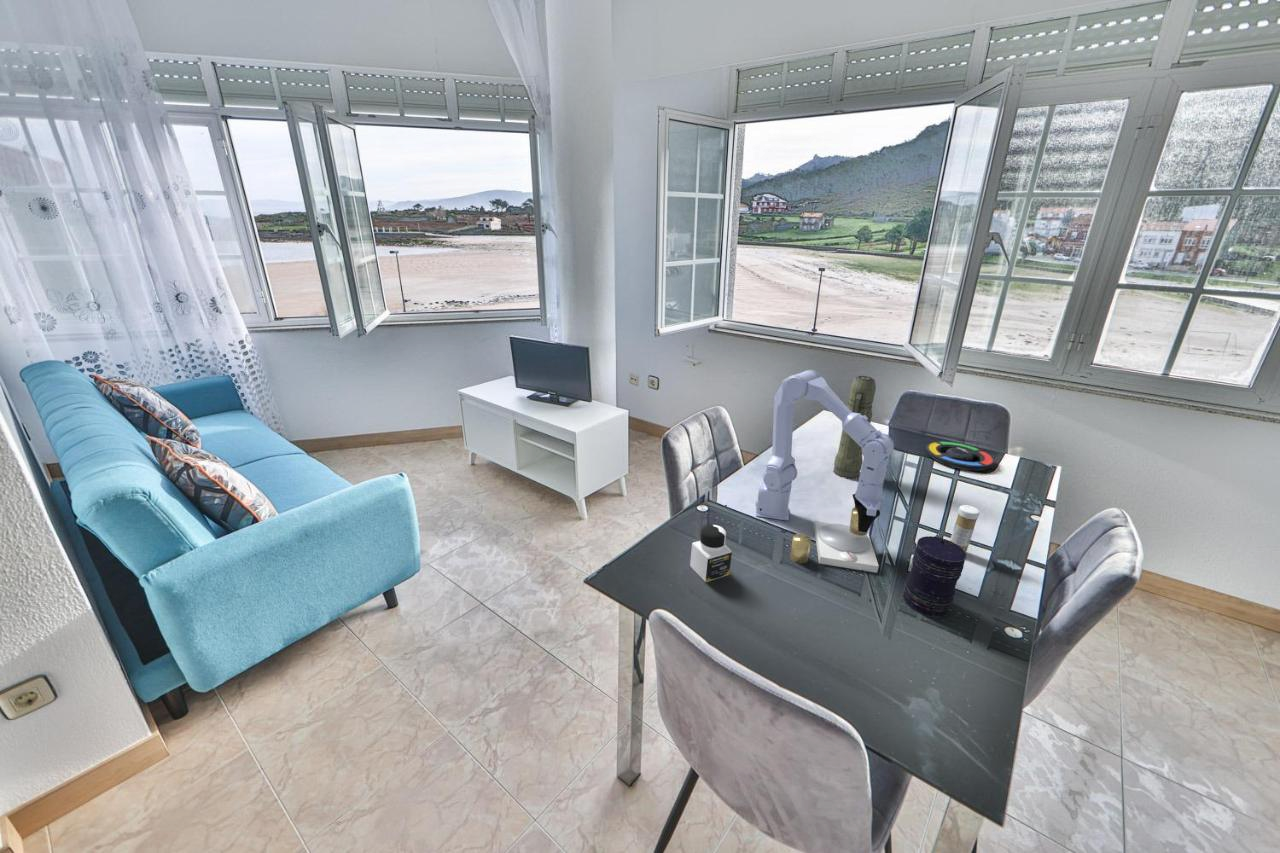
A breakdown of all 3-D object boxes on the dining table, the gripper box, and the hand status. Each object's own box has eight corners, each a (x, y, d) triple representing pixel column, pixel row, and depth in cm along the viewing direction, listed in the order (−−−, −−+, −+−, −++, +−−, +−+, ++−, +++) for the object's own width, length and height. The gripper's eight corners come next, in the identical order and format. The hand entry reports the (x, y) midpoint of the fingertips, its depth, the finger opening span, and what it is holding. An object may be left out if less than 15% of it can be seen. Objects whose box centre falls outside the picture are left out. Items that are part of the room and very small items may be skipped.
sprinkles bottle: (954, 545, 144) (967, 503, 139) (970, 554, 140) (983, 511, 135) (943, 549, 142) (955, 506, 137) (959, 558, 138) (972, 514, 133)
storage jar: (948, 624, 115) (966, 567, 109) (899, 606, 120) (914, 551, 114) (950, 599, 123) (967, 545, 117) (905, 583, 128) (919, 531, 122)
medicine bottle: (705, 583, 125) (709, 540, 120) (689, 566, 131) (693, 525, 126) (729, 575, 128) (734, 533, 124) (713, 559, 134) (717, 518, 130)
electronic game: (911, 451, 207) (913, 440, 205) (955, 446, 214) (958, 435, 212) (959, 476, 187) (963, 464, 185) (1007, 470, 193) (1011, 458, 192)
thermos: (861, 469, 188) (881, 375, 175) (857, 482, 178) (878, 384, 166) (835, 464, 192) (853, 371, 179) (830, 476, 182) (848, 379, 169)
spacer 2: (851, 535, 138) (853, 515, 136) (847, 526, 142) (850, 506, 140) (869, 536, 137) (872, 516, 135) (865, 527, 141) (867, 507, 139)
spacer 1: (790, 561, 134) (793, 541, 132) (789, 551, 138) (792, 532, 136) (808, 564, 133) (812, 544, 131) (807, 554, 138) (810, 535, 135)
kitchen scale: (819, 563, 134) (820, 554, 133) (813, 527, 150) (815, 518, 149) (877, 572, 131) (879, 563, 130) (865, 534, 148) (867, 526, 147)
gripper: (893, 495, 127) (882, 543, 132) (882, 470, 140) (872, 514, 145) (863, 491, 128) (852, 538, 133) (854, 467, 141) (845, 510, 146)
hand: (861, 526), depth 139 cm, fingers closed on spacer 2, 4 cm apart
